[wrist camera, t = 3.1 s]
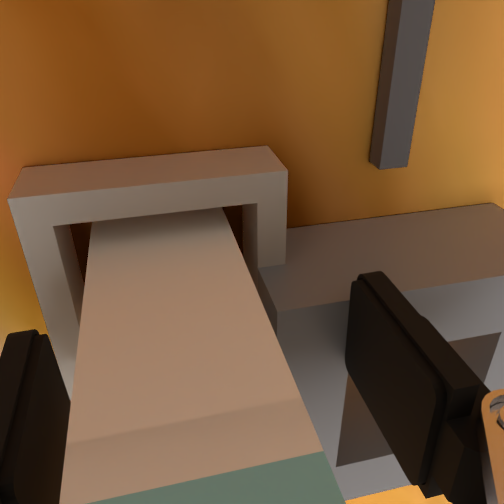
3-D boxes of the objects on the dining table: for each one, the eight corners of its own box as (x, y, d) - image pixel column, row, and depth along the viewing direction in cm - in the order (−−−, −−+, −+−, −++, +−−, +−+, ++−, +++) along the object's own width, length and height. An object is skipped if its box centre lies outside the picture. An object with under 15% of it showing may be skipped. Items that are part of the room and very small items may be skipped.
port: (242, 234, 15) (277, 311, 12) (493, 202, 17) (586, 262, 13) (247, 423, 20) (273, 518, 16) (442, 384, 21) (502, 462, 18)
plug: (93, 212, 13) (45, 617, 5) (218, 198, 14) (359, 535, 6) (114, 312, 15) (104, 728, 7) (223, 295, 16) (335, 656, 8)
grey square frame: (22, 167, 12) (7, 198, 11) (267, 145, 14) (288, 170, 12) (75, 355, 16) (69, 400, 14) (266, 323, 17) (282, 362, 15)
